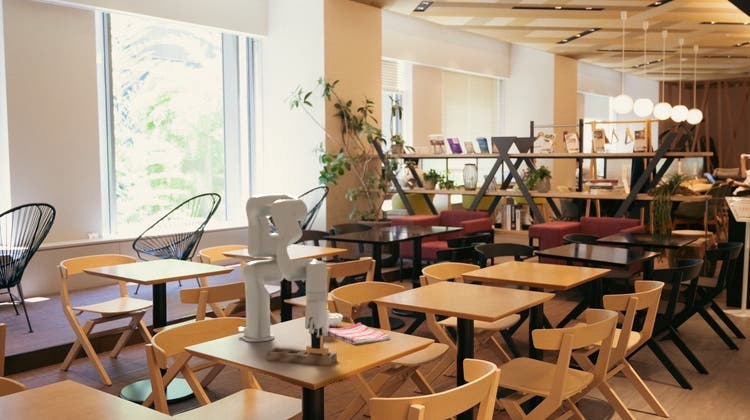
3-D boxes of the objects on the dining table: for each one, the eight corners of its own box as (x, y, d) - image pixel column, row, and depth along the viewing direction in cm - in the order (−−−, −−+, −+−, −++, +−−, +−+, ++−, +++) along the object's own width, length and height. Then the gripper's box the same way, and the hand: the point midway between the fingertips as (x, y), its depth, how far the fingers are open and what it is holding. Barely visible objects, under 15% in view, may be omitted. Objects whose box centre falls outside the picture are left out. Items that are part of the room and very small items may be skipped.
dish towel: (360, 329, 309) (359, 321, 309) (391, 340, 290) (391, 332, 289) (325, 335, 300) (325, 326, 299) (355, 347, 280) (355, 338, 280)
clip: (306, 359, 258) (306, 335, 257) (308, 358, 260) (309, 333, 259) (325, 362, 256) (326, 337, 255) (328, 361, 258) (329, 336, 257)
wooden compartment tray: (267, 360, 260) (267, 352, 260) (275, 355, 267) (275, 347, 266) (329, 366, 253) (329, 357, 253) (336, 360, 259) (336, 352, 259)
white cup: (315, 338, 292) (314, 314, 291) (307, 334, 299) (307, 310, 298) (332, 336, 296) (332, 312, 295) (325, 332, 303) (324, 308, 302)
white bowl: (336, 330, 306) (336, 314, 306) (311, 327, 311) (311, 312, 310) (347, 325, 315) (347, 309, 315) (322, 322, 320) (322, 307, 320)
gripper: (315, 291, 265) (316, 341, 266) (297, 299, 250) (298, 352, 251) (334, 292, 263) (335, 342, 264) (317, 300, 247) (318, 353, 249)
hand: (317, 346), depth 257 cm, fingers closed on clip, 2 cm apart
